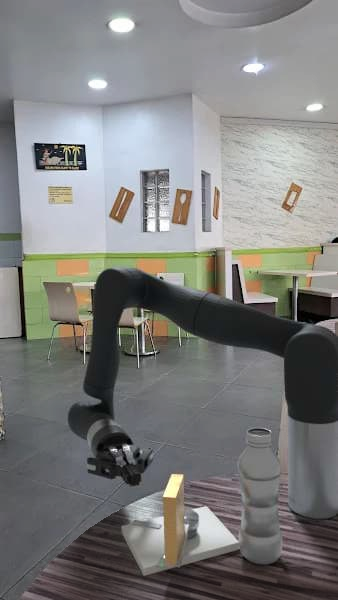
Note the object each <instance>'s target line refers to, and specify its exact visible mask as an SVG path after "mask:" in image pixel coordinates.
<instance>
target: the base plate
mask: <svg viewBox="0 0 338 600" xmlns="http://www.w3.org/2000/svg"><path fill="white" fill-rule="evenodd" d="M191 510H193V511H195V512H196V513H197V514H198V515H199V526H198V528H197V529H195V530H194V531H191V532H189V534H188V538H187V542H186V546H185V550H184V554H183V558H182V562H181V566H185V565H188V564H192V563H195V562H199V561H202V560H206V559H209V558H213V557H217V556H222V555H225V554H227V553H228V554H229V553H231V552H235V551H239V550H240V546H239V539H237V538H236V537H235V536H234V535H233V534H232V533H231V531H230V530H229V529H228V528H227V527H226V525H224V524H223V523H222V521H221V520H220V519H219V518H218V517H217V516H216V514H214V513H213V512H212V510H211V509H210V508H209V507H208V506H207V505H206V506H201V507H197V508H196V507H195V508H193V509H191ZM121 533H122V537H123V538H124V540H125V542H126V543H127V546H128V548H129V550H130V551H131V554H132V555H133V558H134V560H135V562H136V563H137V566H138V567H139V569H140V572H141V574H142V576H144V577H145V576H149V575H152V574H156V573H159V572H163V571H167V570H169V569H174V568H175V567H171V566H164V560H163V558H164V554H165V549H164V515H161V516H159V517H154V518H150V519H146V520H140V519H134V520H133V521H132V522H131V523H128V524H124V525H121Z"/></svg>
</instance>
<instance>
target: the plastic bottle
mask: <svg viewBox="0 0 338 600" xmlns="http://www.w3.org/2000/svg"><path fill="white" fill-rule="evenodd" d="M245 444H246V445H247V447H246V448H245V449H244V450H243V452H241V454H240V456H239V458H238V461H237V463H236V464H237V465H236V466H237V473H238V474H237V475H238V479H239V480H238V481H239V485H240V493H241V495H240V496H241V516H240V517H241V520H240V527H239V532H238V541H239V550H240V553H241V554H242V555H243V556H244V558H245V559H246V560H247V561H249V562H251V563H252V564H255V565H256V564H257V565H264V566H265V565H271V564H273V563H276V562H277V561H278V559H280V557H281V555H282V552H283V551H282V550H283V545H284V542H283V535H282V530H281V528H280V526H281V525H280V516H279V489H280V482H281V475H282V465H281V462H280V459H279V457H278V456H277V454H276V453H275V452H274V450H273V448H272V446H273V433H272V431H271V430H270V429H268V428H264V427H251V428H248V429H247V431H246V439H245Z"/></svg>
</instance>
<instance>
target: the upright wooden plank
mask: <svg viewBox="0 0 338 600" xmlns="http://www.w3.org/2000/svg"><path fill="white" fill-rule="evenodd" d="M184 486H185V479H184V474H179V473H172V474H171V475H170V478H169V480H168V483H167V486H166V488H165V491H164V494H163V496H162V505H163V516H164V549H165V554H164V558H163V560H164V566H171V567H174V568H181V566H182V565H181V562H182V558H183V554H184V550H185V546H186V542H187V538H188V534H189V532H191V531H194V530H195V529H197V528H198V526H199V515H198V514H197V513H196V512H195V511H193V510H192V509H188V508H185V487H184Z"/></svg>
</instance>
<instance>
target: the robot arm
mask: <svg viewBox="0 0 338 600" xmlns="http://www.w3.org/2000/svg"><path fill="white" fill-rule="evenodd" d="M93 294H94V295H93V314H92V331H91V344H90V351H89V357H88V361H87V365H86V371H85V375H84V378H83V379H84V380H83V385H82V390H83V393H84V394H86V395H87V396H89V397H90V398H94V399H96V400H99V401H100V402H98V401H97V402H96V401H82V400H81V401H77V402H75V403H74V404H72V405H71V407H70V408H69V409H68V413H67V423H68V426H69V428H70V430H71V432H72V433H73V434H74V435H76V436H77V437H78V438H81V439H82V440H84V441H86V442H87V444H88V448H89V450H90V452H91V453H92V456H93V457H92V456H90V457H87V458H86V467H87V469H86V471H87V473H88V474H90V475H94V476H98V477H101V478H105V479H109V480H115V479H116V477H118V478H119V479H120V480H123V483H124V484H126V485H128V486H129V487H130V488H131V487H136V486H137V487H138V486H140V483H142V475H143V474H145V472H146V471H147V470H148V468H149V467H150V466H151V464H152V463H153V462H154V448H153V447H152V446H148V447H146V448H145V449H140V446H138V445H135V444H134V442H133V440H132V438H131V436H129V434H128V433H127V432H126V431H125V430H124V428H123V427H122V426H121V425H120V424H119V423H118V422H116V421H115V408H114V395H115V394H114V393H115V392H114V391H115V386H116V383H117V378H118V374H119V369H120V361H121V359H120V351H119V350H120V349H119V343H118V331H119V330H118V329H119V324H120V321H121V318H122V315H123V313H124V311H125V310H126V309H135V308H136V309H141V310H146V311H150V312H152V313H153V312H154V313H156V314H159V315H161V316H163V317H165V318H167V319H168V320H170V321H171V322H172V323H173V324H175V326H177V327H179V328H180V329H182V330H183V331H185V332H186V333H188V334H190V335H192V336H194V337H197V338H200V339H203V340H205V341H209V342H210V343H211V342H212V343H215V344H217V345H223V346H228V347H234V348H243V349H252V350H257V351H263V352H267V353H270V354H272V355H276V356H277V357H280V358H282V359H283V376H284V377H283V379H284V381H283V383H284V384H283V385H284V399H285V402H286V405H287V505H288V507H289V509H290V510H292V511H293V512H294V513H296V514H298V515H300V516H302V517H305V518H309V519H315V520H316V519H317V520H324V519H330V518H333V517H335V516H337V515H338V335H337V334H336V333H335V332H334V331H333V330H331V329H330V328H328V327H326V326H323V325H318V324H314V323H313V324H311V323H308V322H303V321H298V320H294V319H293V320H292V319H288V318H284V317H281V316H277V315H274V314H270V313H268V312H266V311H263V310H261V309H258V308H255V307H253V306H249V305H248V304H244V303H242V302H239V301H236V300H234V299H231V298H228V297H225V296H222V295H219V294H216V293H212V292H209V291H205V290H202V289H197V288H194V287H189V286H186V285H181V284H177V283H173V282H169V281H167V280H164V279H162V278H159V277H158V276H155V275H153V274H151V273H148V272H146V271H145V270H142V269H140V268H137V267H133V266H114V267H109V268H105V270H104V269H103V271H101V272H100V274H99V275H98V277H97V278H96V281H95V285H94V293H93ZM107 470H108V471H107Z"/></svg>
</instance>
